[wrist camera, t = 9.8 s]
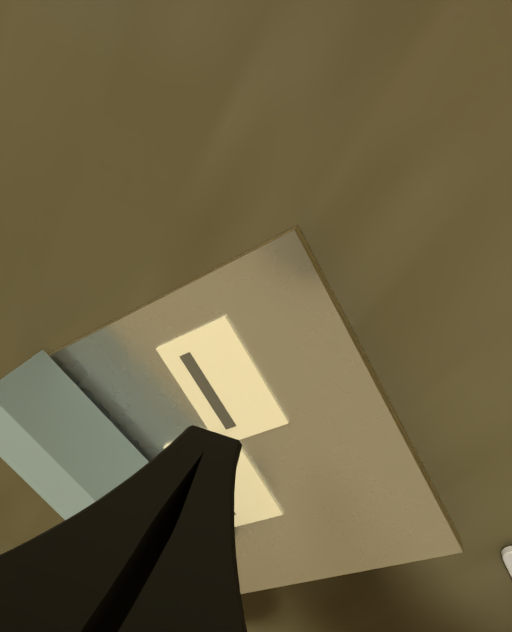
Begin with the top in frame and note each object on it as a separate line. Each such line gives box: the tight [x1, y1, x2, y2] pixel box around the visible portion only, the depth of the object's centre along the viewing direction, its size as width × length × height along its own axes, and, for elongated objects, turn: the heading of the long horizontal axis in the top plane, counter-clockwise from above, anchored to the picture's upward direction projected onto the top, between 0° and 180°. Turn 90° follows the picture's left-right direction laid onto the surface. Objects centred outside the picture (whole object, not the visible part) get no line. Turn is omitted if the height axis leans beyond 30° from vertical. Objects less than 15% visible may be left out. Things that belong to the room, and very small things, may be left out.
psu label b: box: [163, 426, 284, 527], centre depth 24 cm, size 6×4×1 cm, turn 30°
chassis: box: [48, 225, 463, 594], centre depth 22 cm, size 18×15×5 cm
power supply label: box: [156, 315, 289, 440], centre depth 22 cm, size 6×4×1 cm, turn 30°
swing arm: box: [0, 350, 148, 520], centre depth 23 cm, size 16×4×4 cm, turn 40°
